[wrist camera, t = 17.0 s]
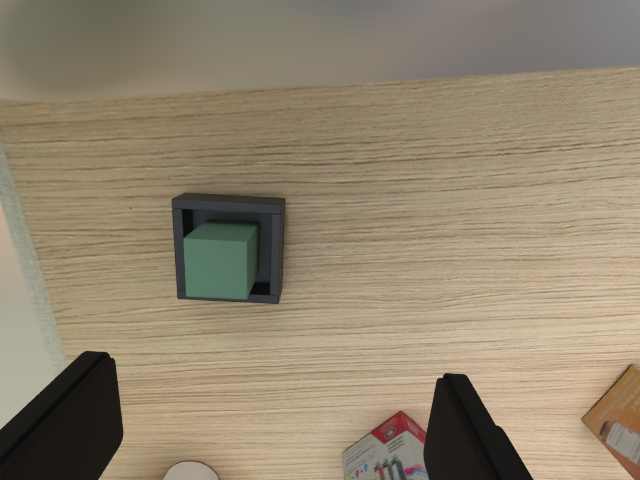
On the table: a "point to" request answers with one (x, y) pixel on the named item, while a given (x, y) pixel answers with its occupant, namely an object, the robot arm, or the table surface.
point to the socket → (265, 210)
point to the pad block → (222, 259)
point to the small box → (620, 421)
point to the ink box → (388, 453)
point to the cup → (190, 472)
